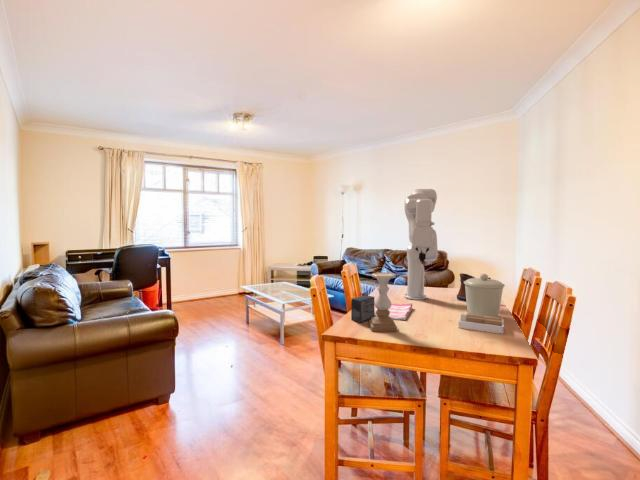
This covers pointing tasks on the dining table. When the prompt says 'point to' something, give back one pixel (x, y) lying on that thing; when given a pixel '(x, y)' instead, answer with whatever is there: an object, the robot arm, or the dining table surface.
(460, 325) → the tray
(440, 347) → the dining table surface
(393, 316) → the dish towel
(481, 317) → the tile
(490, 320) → the tile
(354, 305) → the small box
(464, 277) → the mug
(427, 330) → the dining table surface
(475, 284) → the canister
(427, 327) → the dining table surface
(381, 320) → the candle holder
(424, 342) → the dining table surface
